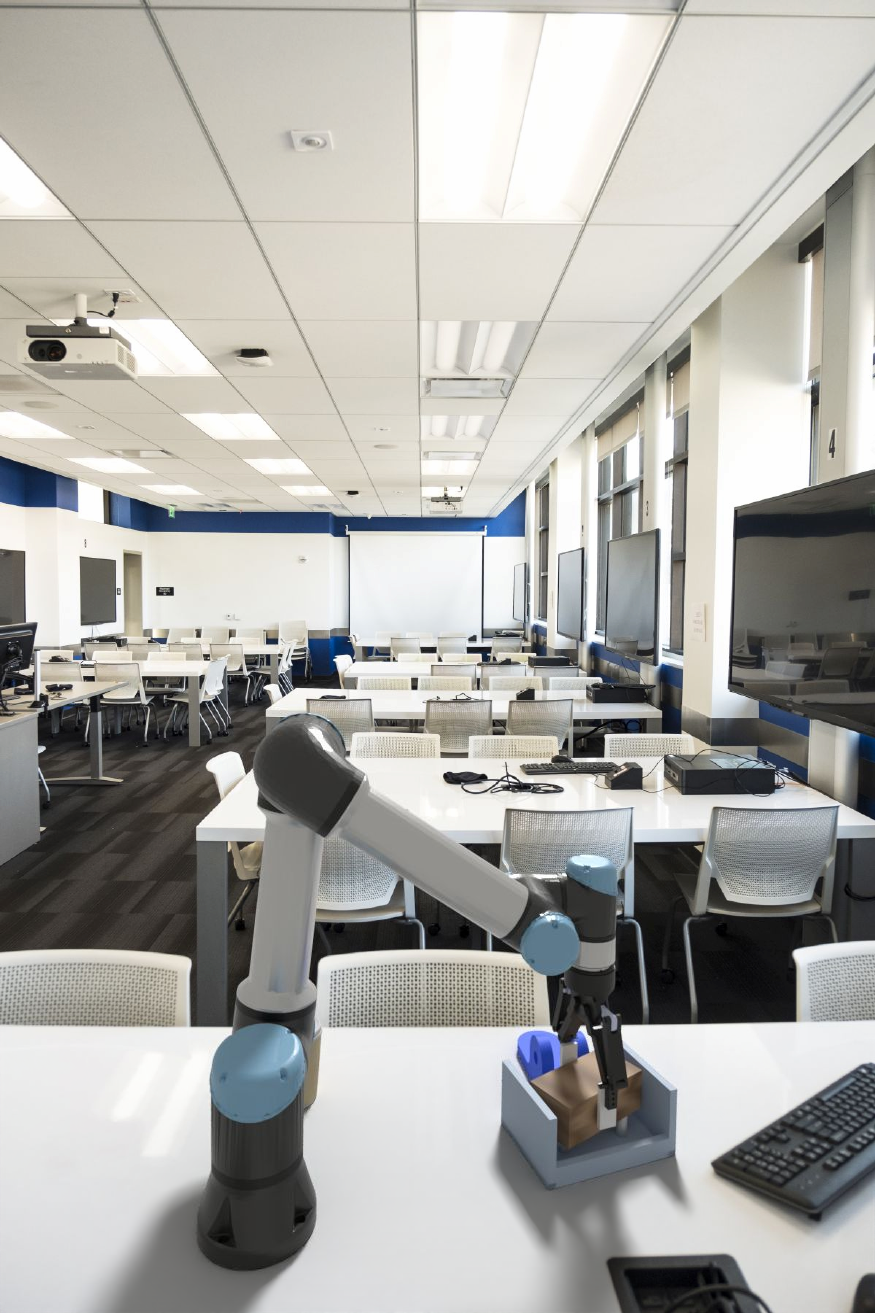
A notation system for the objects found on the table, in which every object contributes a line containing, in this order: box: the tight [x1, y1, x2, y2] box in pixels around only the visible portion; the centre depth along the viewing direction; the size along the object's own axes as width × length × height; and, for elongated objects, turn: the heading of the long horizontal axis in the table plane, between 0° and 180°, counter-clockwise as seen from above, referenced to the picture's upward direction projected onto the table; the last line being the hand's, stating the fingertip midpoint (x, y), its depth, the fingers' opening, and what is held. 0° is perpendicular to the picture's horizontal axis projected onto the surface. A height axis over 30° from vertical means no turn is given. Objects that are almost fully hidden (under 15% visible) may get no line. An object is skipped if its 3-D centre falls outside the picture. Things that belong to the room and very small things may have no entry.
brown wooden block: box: [529, 1050, 642, 1150], centre depth 117 cm, size 16×8×6 cm, turn 127°
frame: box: [500, 1039, 678, 1191], centre depth 117 cm, size 21×15×10 cm
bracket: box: [516, 1030, 590, 1081], centre depth 136 cm, size 18×8×9 cm, turn 10°
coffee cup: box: [304, 1015, 323, 1109], centre depth 127 cm, size 9×9×12 cm
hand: (586, 1104), depth 117 cm, fingers open, 10 cm apart
